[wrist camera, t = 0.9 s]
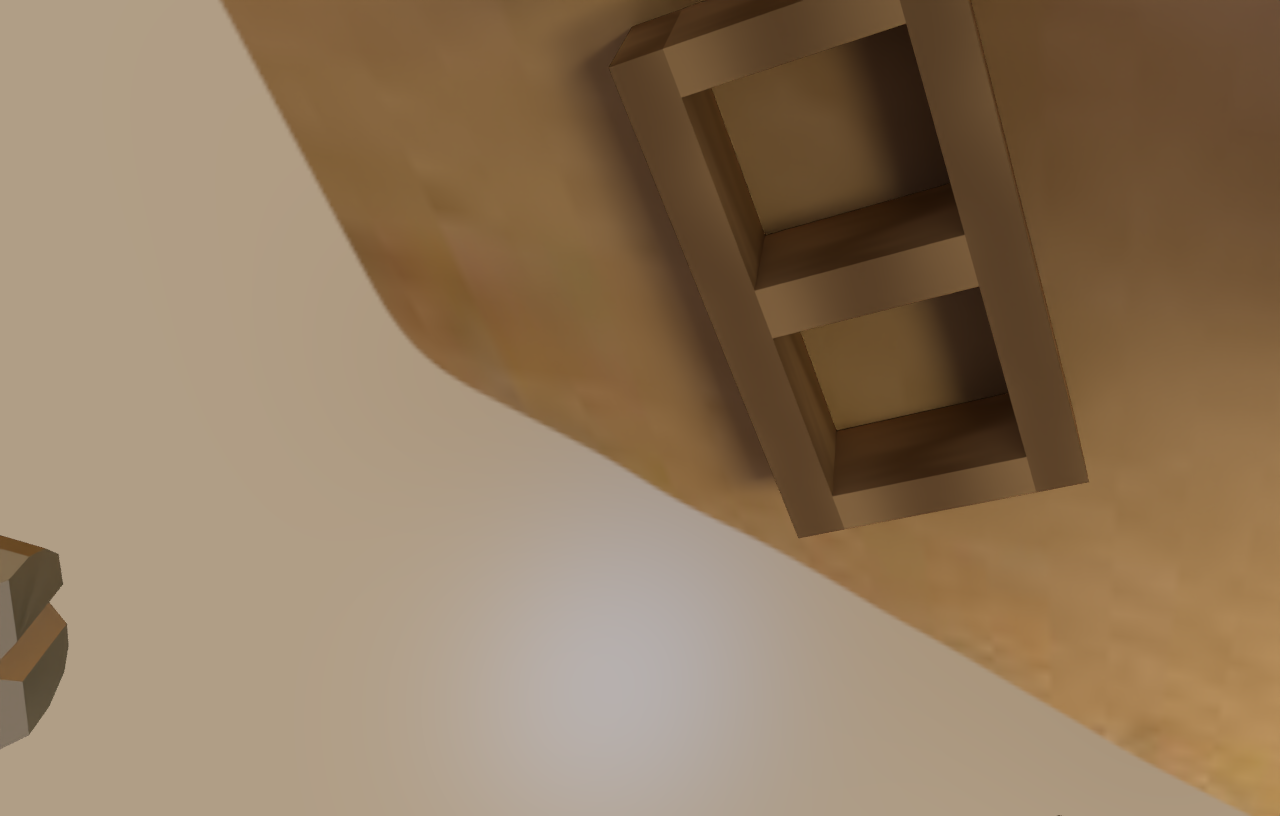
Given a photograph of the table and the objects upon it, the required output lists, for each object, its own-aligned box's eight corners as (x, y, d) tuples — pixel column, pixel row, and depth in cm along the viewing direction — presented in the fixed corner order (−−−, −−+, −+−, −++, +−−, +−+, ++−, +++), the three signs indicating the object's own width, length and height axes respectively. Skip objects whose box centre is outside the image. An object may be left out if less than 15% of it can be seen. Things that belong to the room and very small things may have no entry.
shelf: (949, -87, 35) (955, -53, 32) (1074, 414, 44) (1089, 482, 41) (632, 26, 39) (608, 67, 35) (805, 472, 47) (798, 538, 44)
